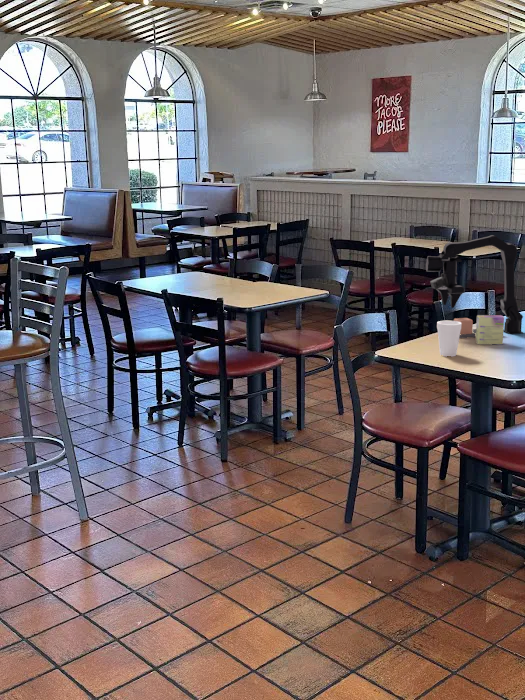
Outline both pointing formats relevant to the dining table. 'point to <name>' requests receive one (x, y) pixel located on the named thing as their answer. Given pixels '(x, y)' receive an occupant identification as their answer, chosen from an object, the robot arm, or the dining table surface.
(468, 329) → the terracotta block
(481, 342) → the box
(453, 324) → the foam cup
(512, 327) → the robot arm
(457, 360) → the dining table surface
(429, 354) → the dining table surface
